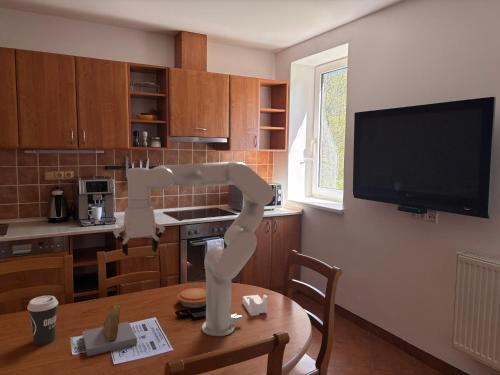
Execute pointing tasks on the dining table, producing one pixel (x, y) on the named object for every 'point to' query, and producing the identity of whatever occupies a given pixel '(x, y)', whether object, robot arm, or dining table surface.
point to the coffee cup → (43, 319)
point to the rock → (112, 323)
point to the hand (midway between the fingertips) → (140, 252)
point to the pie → (193, 297)
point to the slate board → (100, 343)
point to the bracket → (255, 304)
